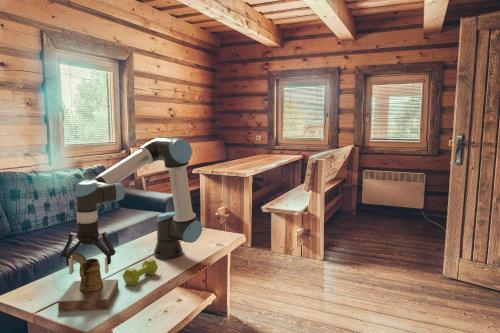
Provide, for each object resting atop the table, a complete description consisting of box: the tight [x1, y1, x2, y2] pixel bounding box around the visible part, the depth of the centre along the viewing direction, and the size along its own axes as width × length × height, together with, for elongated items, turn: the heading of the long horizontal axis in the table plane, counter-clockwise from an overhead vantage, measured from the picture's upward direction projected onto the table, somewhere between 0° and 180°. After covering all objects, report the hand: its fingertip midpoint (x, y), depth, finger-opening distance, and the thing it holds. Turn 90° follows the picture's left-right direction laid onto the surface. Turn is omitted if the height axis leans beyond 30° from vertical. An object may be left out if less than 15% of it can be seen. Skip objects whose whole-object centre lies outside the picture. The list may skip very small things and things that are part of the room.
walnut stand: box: [57, 279, 119, 313], centre depth 150 cm, size 18×18×4 cm
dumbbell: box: [122, 258, 159, 287], centre depth 170 cm, size 16×8×7 cm, turn 154°
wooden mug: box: [71, 251, 103, 292], centre depth 149 cm, size 9×14×18 cm, turn 165°
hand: (89, 272), depth 149 cm, fingers open, 13 cm apart
